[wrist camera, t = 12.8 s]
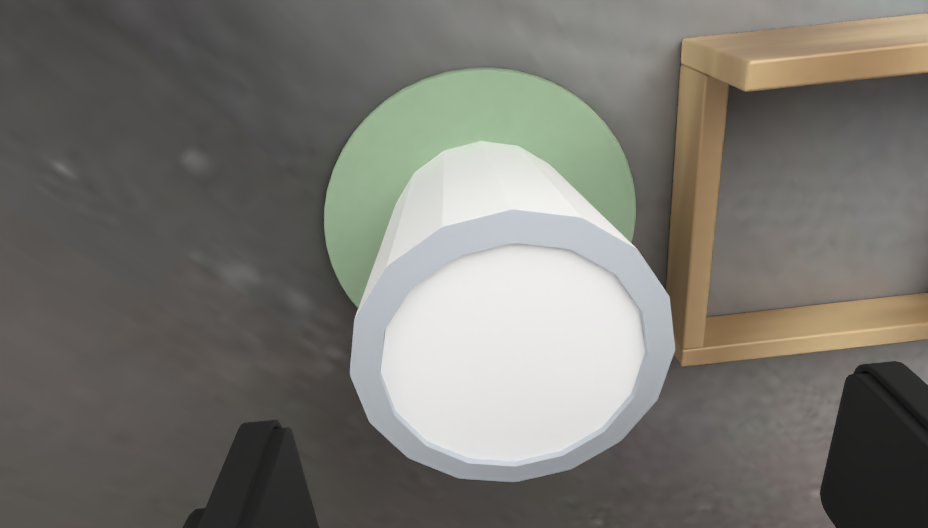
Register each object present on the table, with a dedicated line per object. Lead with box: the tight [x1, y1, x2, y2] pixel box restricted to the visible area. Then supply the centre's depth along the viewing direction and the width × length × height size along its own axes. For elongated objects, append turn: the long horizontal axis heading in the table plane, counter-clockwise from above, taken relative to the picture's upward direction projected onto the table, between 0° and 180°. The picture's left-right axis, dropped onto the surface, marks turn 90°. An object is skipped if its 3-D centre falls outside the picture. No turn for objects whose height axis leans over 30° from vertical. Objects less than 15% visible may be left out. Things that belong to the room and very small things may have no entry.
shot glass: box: [350, 141, 675, 482], centre depth 16 cm, size 7×7×7 cm
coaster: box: [324, 67, 636, 308], centre depth 19 cm, size 10×10×1 cm
